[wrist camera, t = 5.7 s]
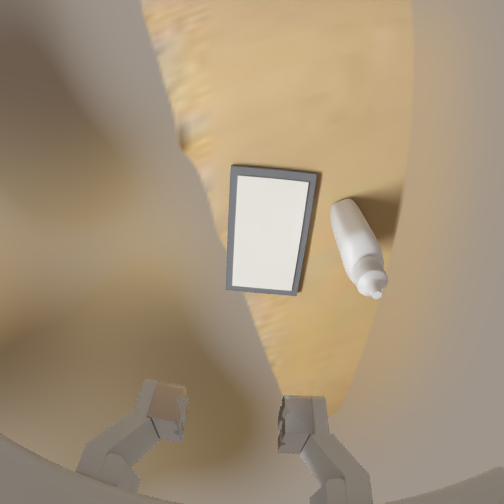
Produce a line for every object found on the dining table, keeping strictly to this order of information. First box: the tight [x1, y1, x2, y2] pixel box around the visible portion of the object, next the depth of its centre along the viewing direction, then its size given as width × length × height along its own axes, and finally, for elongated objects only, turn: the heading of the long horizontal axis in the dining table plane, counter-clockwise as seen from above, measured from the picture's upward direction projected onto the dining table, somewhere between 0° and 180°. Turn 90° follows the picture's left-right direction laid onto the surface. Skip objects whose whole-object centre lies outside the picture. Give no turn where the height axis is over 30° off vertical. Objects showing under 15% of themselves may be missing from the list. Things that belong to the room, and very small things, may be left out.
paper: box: [232, 175, 309, 291], centre depth 31 cm, size 12×7×1 cm, turn 176°
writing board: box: [226, 165, 317, 296], centre depth 31 cm, size 14×8×1 cm, turn 176°
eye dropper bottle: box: [330, 199, 388, 299], centre depth 25 cm, size 4×6×12 cm
